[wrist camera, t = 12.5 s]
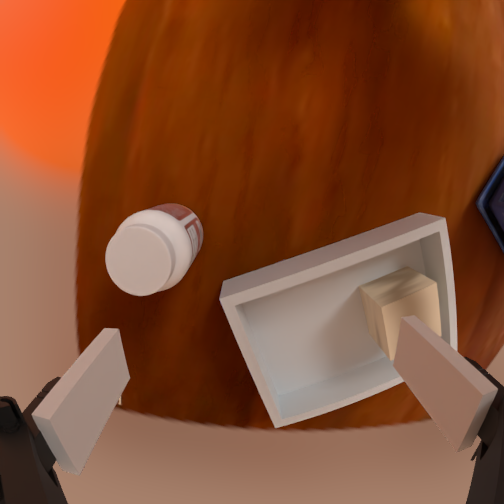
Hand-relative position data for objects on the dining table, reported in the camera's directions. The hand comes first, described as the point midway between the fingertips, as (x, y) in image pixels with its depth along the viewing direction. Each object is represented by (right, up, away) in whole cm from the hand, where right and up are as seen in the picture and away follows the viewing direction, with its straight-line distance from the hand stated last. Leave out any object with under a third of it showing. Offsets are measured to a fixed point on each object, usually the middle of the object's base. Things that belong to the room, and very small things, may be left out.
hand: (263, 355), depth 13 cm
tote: (+10, -2, +19) cm, 21 cm away
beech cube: (+14, -1, +18) cm, 23 cm away
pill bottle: (-8, +6, +17) cm, 20 cm away
